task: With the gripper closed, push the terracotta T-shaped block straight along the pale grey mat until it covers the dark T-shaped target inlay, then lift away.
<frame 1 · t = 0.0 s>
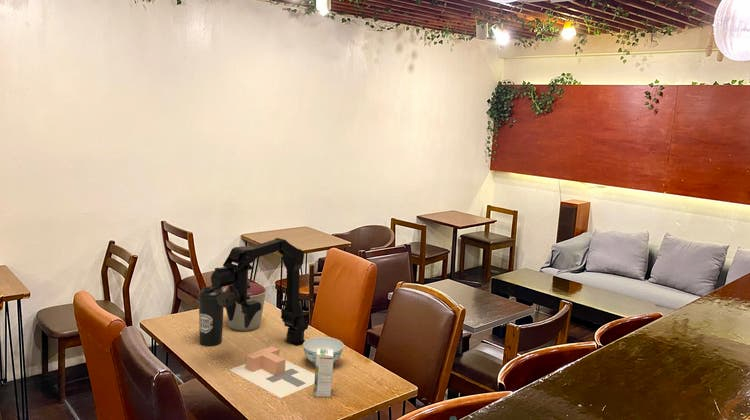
hand: (238, 324, 205), 15 cm above the table, fingers open, 9 cm apart
mat: (276, 375, 199), on the table
chinaware: (322, 364, 210), on the table
water bottle: (210, 342, 224), on the table
t block: (269, 368, 203), point 1 cm above the table, touching mat
canister: (244, 327, 242), on the table
syrup box: (322, 393, 188), on the table
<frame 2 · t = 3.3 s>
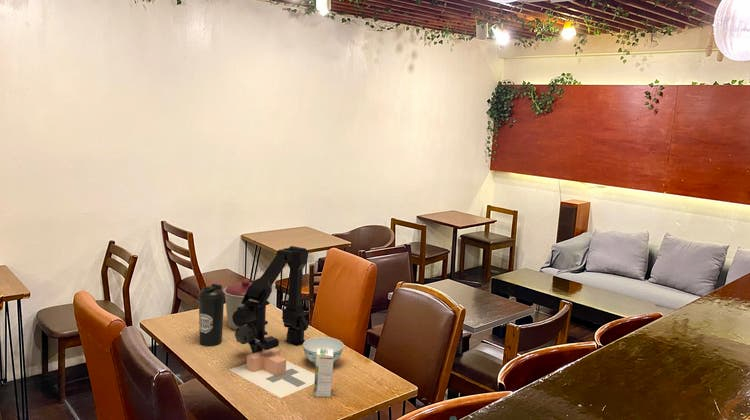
hand: (256, 359, 207), 2 cm above the table, fingers closed
t block: (270, 369, 202), point 1 cm above the table, touching gripper
everything else where it was.
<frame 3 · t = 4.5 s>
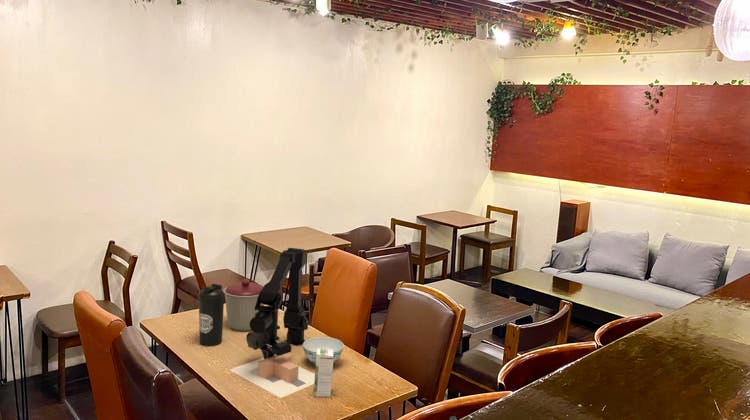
hand: (267, 364, 203), 2 cm above the table, fingers closed
t block: (282, 375, 198), point 1 cm above the table, touching gripper, mat
everything else where it was.
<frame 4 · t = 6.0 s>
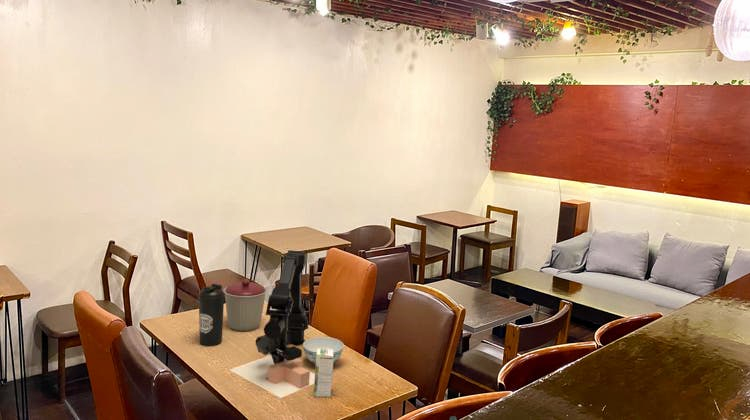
hand: (277, 369, 200), 2 cm above the table, fingers closed
t block: (292, 380, 195), point 1 cm above the table, touching gripper, mat
everything else where it was.
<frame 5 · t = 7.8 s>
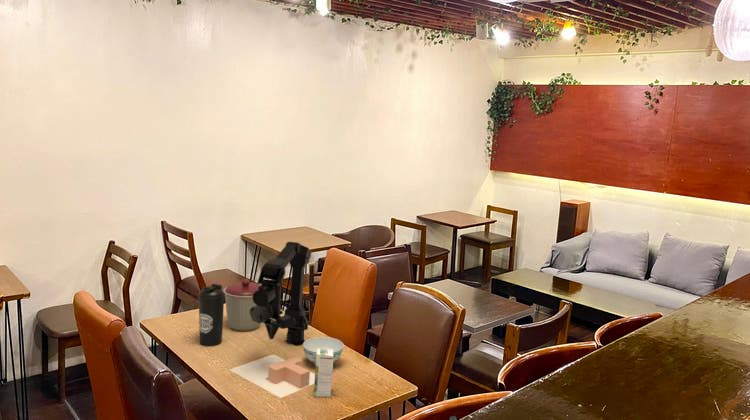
hand: (271, 338, 204), 11 cm above the table, fingers closed
t block: (292, 380, 195), point 1 cm above the table, touching mat
everything else where it was.
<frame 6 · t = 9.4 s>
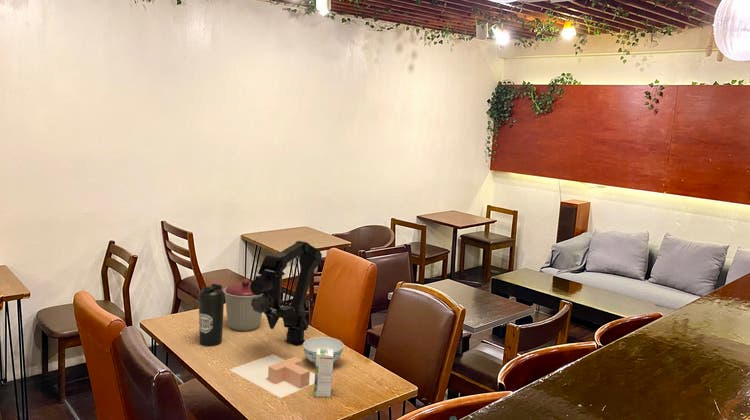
hand: (271, 328, 213), 11 cm above the table, fingers closed
nothing on the table moved.
at the end: t block 1.5 cm from the target spot, point 0.5 cm above the table; t block tilted 0°; t block moved 12.5 cm from its start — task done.
